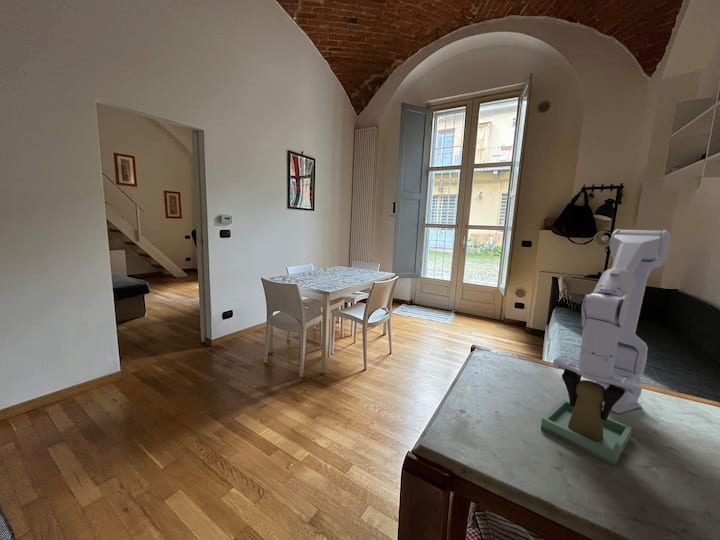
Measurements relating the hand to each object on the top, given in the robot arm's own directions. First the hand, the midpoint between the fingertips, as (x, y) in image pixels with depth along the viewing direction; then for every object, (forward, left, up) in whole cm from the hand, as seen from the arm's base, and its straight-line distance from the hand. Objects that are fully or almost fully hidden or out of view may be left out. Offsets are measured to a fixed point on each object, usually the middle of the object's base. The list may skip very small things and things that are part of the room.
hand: (588, 411), depth 63 cm
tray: (0, 0, -5) cm, 5 cm away
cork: (0, 0, -5) cm, 5 cm away
